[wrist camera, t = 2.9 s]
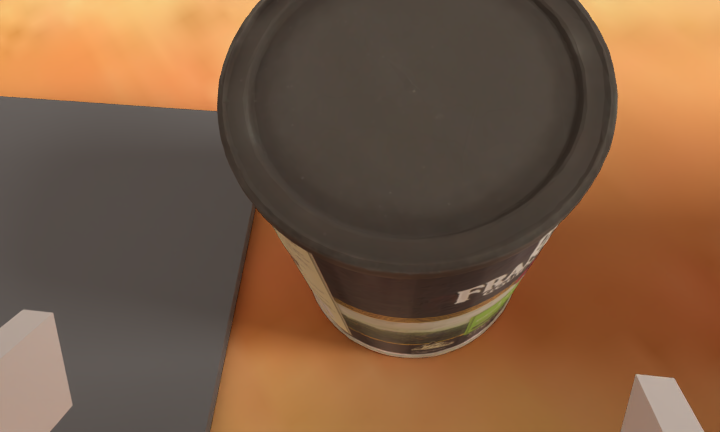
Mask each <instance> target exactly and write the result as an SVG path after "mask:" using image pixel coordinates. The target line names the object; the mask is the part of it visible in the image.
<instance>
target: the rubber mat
mask: <svg viewBox="0 0 720 432" xmlns="http://www.w3.org/2000/svg"><path fill="white" fill-rule="evenodd" d="M255 208H256V207H255V206H254V205H253V203H252V202H251V201H250V200H249V198H248V197H247V196H246V195H245V193H244V192H243V190H242V188H241V187H240V185H239V183H238V181H237V179H236V177H235V176H234V174H233V172H232V170H231V168H230V165H229V163H228V160H227V158H226V156H225V152H224V148H223V145H222V142H221V138H220V131H219V125H218V114H217V111H204V110H189V109H175V108H161V107H146V106H132V105H118V104H103V103H89V102H75V101H60V100H46V99H32V98H17V97H3V96H0V328H1V327H2V326H3V325H4V324H6V323H7V322H8V321H9V320H11V319H12V318H13V317H14V316H16V315H17V314H18V313H19V312H21V311H22V310H33V311H42V312H52V313H53V314H54V319H55V324H56V328H57V333H58V338H59V343H60V347H61V352H62V357H63V362H64V366H65V371H66V376H67V381H68V385H69V390H70V395H71V399H72V404H73V405H72V407H71V408H70V409H69V410H68V411H67V412H66V414H65V415H64V416H63V417H62V418H61V419H60V421H59V422H58V423H57V424H56V425H55V426H54V428H53V429H52V430H51V431H50V432H210V428H211V423H212V418H213V413H214V408H215V403H216V399H217V394H218V389H219V384H220V379H221V374H222V369H223V364H224V360H225V355H226V350H227V345H228V340H229V335H230V330H231V325H232V321H233V316H234V311H235V306H236V301H237V296H238V291H239V286H240V282H241V277H242V272H243V267H244V262H245V257H246V252H247V247H248V242H249V238H250V233H251V228H252V223H253V218H254V213H255Z"/></svg>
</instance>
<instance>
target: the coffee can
mask: <svg viewBox="0 0 720 432" xmlns="http://www.w3.org/2000/svg"><path fill="white" fill-rule="evenodd" d="M617 97H618V94H617V84H616V79H615V73H614V68H613V63H612V60H611V56H610V52H609V50H608V47H607V45H606V43H605V41H604V39H603V37H602V35H601V33H600V31H599V29H598V27H597V25H596V24H595V22H594V21H593V20H592V18H591V17H590V15H589V13H588V12H587V11H586V10H585V8H584V7H583V6H582V4H581V3H580V2H579V1H578V0H260V1H259V2H258V3H257V5H256V6H255V7H254V8H253V9H252V11H251V12H250V14H249V15H248V16H247V17H246V19H245V20H244V22H243V23H242V25H241V27H240V28H239V30H238V32H237V34H236V35H235V37H234V39H233V41H232V43H231V45H230V48H229V50H228V53H227V55H226V58H225V61H224V64H223V67H222V71H221V75H220V79H219V88H218V102H217V114H218V125H219V131H220V138H221V142H222V145H223V148H224V152H225V156H226V158H227V160H228V163H229V165H230V168H231V170H232V172H233V174H234V176H235V177H236V179H237V181H238V183H239V185H240V187H241V188H242V190H243V192H244V193H245V195H246V196H247V197H248V198H249V200H250V201H251V202H252V203H253V205H254V206H255V207H256V208H257V210H258V211H259V212H260V213H261V215H262V216H263V217H264V218H265V219H266V220H267V221H268V222H269V223H270V224H271V225H272V226H273V228H274V230H275V231H276V233H277V235H278V237H279V238H280V240H281V242H282V243H283V245H284V247H285V248H286V249H287V251H288V252H289V254H290V255H291V257H292V259H293V260H294V262H295V263H296V265H297V267H298V268H299V270H300V272H301V273H302V275H303V276H304V278H305V280H306V281H307V283H308V285H309V287H310V288H311V290H312V291H313V294H314V296H315V299H316V301H317V302H318V304H319V306H320V307H321V309H322V311H323V312H324V313H325V315H326V316H327V317H328V319H329V320H330V321H331V322H332V323H333V324H334V326H336V327H337V328H338V329H339V330H340V331H341V332H342V333H343V334H345V335H346V336H347V337H348V338H349V339H351V340H352V341H354V342H356V343H358V344H360V345H362V346H364V347H366V348H368V349H370V350H373V351H375V352H378V353H381V354H385V355H389V356H395V357H403V358H423V357H433V356H438V355H442V354H445V353H448V352H451V351H454V350H456V349H458V348H461V347H462V346H464V345H466V344H468V343H470V342H471V341H473V340H474V339H476V338H477V337H479V336H480V335H481V334H482V333H484V332H485V331H486V330H487V329H488V328H489V327H490V326H491V325H492V324H493V323H494V322H495V321H496V319H497V318H498V317H499V316H500V315H501V313H502V312H503V311H504V309H505V307H506V305H507V303H508V302H509V300H510V298H511V295H512V293H513V291H514V290H515V288H516V287H517V285H518V284H519V282H520V280H521V279H522V278H523V276H524V275H525V273H526V272H527V270H528V269H529V267H530V266H531V265H532V263H533V262H534V260H535V259H536V257H537V256H538V254H539V253H540V251H541V249H542V248H543V246H544V245H545V243H546V242H547V241H548V239H549V238H550V236H551V234H552V233H553V231H554V230H555V228H556V227H557V226H558V224H559V223H560V222H561V221H562V220H564V219H565V218H566V217H567V215H568V214H569V213H570V212H571V211H572V210H573V209H574V208H575V206H576V205H577V204H578V203H579V202H580V201H581V199H582V198H583V196H584V195H585V194H586V192H587V191H588V189H589V188H590V186H591V185H592V183H593V181H594V180H595V178H596V177H597V175H598V173H599V172H600V170H601V167H602V165H603V163H604V160H605V158H606V156H607V154H608V152H609V150H610V147H611V143H612V139H613V135H614V130H615V124H616V117H617Z"/></svg>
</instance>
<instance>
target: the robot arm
mask: <svg viewBox="0 0 720 432" xmlns="http://www.w3.org/2000/svg"><path fill="white" fill-rule="evenodd" d="M72 405H73V404H72V399H71V395H70V390H69V385H68V381H67V376H66V371H65V366H64V362H63V357H62V352H61V347H60V343H59V338H58V333H57V328H56V324H55V319H54V314H53V313H52V312H42V311H33V310H22V311H21V312H19V313H18V314H17V315H16V316H14V317H13V318H12V319H11V320H9V321H8V322H7V323H6V324H4V325H3V326H2V327H1V328H0V432H50V431H51V430H52V429H53V428H54V426H55V425H56V424H57V423H58V422H59V421H60V419H61V418H62V417H63V416H64V415H65V414H66V412H67V411H68V410H69V409H70V408H71V407H72ZM621 432H704V430H703V429H702V427H701V425H700V423H699V421H698V420H697V418H696V416H695V414H694V413H693V411H692V409H691V407H690V405H689V404H688V402H687V400H686V398H685V396H684V395H683V393H682V391H681V389H680V388H679V386H678V384H677V382H676V380H675V379H674V378H669V377H659V376H650V375H640V374H636V375H635V379H634V383H633V387H632V390H631V394H630V398H629V402H628V405H627V409H626V413H625V417H624V420H623V424H622V428H621Z"/></svg>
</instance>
